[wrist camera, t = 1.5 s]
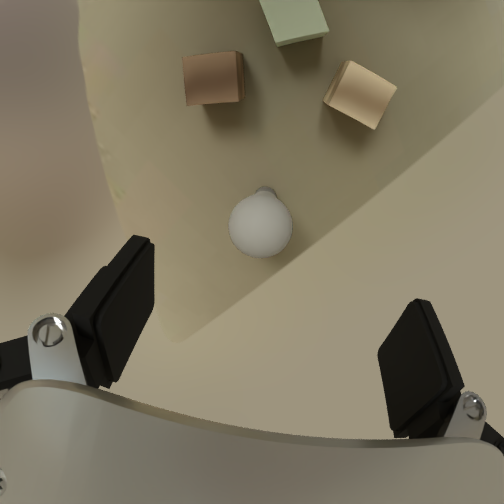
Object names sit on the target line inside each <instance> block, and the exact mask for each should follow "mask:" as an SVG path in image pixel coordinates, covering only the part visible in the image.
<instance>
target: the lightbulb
mask: <svg viewBox="0 0 504 504" xmlns="http://www.w3.org/2000/svg"><path fill="white" fill-rule="evenodd" d="M228 226H229V234H230V237H231V240H232V242H233V243H234V245H235V246H236V247H237V249H239V250H240V251H241V252H242V253H244V254H246V255H248V256H251V257H254V258H267V257H270V256H274V255H275V254H277V253H279V252H280V251H281V250H283V248H284V247H285V246H286V245H287V244H288V242H289V240H290V238H291V235H292V230H293V222H292V217H291V215H290V213H289V211H288V209H287V207H286V206H285V205H284V204H283V203H282V202H281V201H280V200H278V199H277V197H276V193H275V191H274V190H273V189H272V188H270V187H261V188H259V189H258V190H257V191H256V193H255V194H254V195H251V196H248V197H246V198H244V199H243V200H241V201H240V202H239V203H238V204H237V205H236V206H235V207H234V209H233V210H232V213H231V215H230V218H229V224H228Z"/></svg>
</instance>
